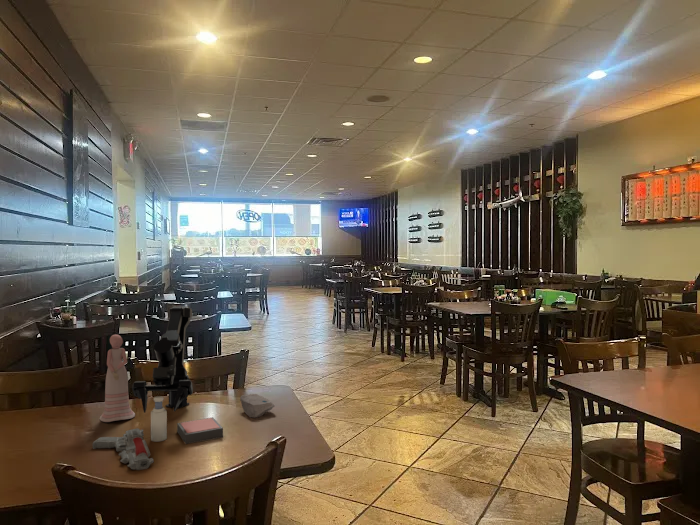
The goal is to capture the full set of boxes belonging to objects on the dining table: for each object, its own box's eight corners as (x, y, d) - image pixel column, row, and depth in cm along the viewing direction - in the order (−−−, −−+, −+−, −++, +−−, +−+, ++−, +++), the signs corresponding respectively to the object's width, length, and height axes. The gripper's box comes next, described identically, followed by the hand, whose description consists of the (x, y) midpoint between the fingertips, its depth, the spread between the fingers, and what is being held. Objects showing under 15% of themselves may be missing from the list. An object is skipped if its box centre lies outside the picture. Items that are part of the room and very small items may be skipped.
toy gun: (95, 469, 138) (154, 456, 145) (91, 436, 161) (142, 426, 169) (96, 481, 138) (155, 468, 145) (92, 447, 162) (143, 436, 169)
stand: (177, 431, 172) (177, 422, 172) (212, 425, 178) (212, 416, 178) (185, 444, 162) (185, 434, 162) (223, 437, 168) (223, 427, 168)
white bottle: (147, 440, 165) (147, 398, 165) (159, 435, 169) (159, 394, 169) (158, 442, 163) (158, 400, 163) (170, 437, 167) (169, 396, 167)
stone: (276, 414, 192) (276, 398, 192) (254, 419, 185) (254, 403, 185) (257, 406, 201) (257, 391, 201) (235, 411, 195) (235, 395, 195)
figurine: (114, 410, 194) (114, 331, 193) (144, 412, 191) (143, 332, 190) (89, 421, 181) (88, 337, 180) (121, 424, 179) (120, 339, 177)
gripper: (133, 357, 170) (123, 400, 159) (191, 356, 173) (186, 397, 162) (139, 375, 178) (130, 417, 167) (194, 373, 181) (190, 414, 170)
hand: (159, 411), depth 167 cm, fingers open, 9 cm apart
